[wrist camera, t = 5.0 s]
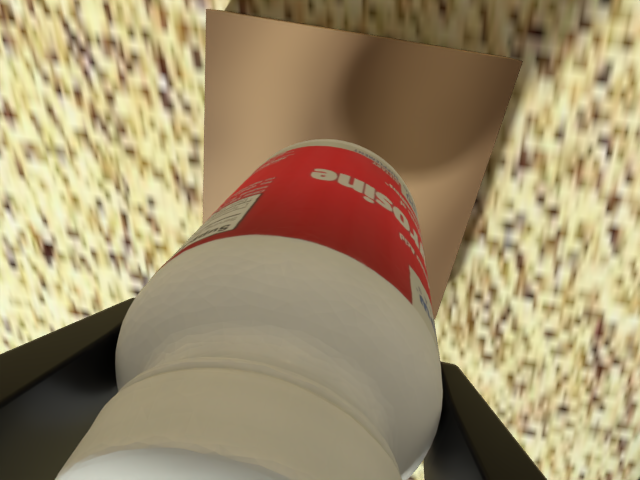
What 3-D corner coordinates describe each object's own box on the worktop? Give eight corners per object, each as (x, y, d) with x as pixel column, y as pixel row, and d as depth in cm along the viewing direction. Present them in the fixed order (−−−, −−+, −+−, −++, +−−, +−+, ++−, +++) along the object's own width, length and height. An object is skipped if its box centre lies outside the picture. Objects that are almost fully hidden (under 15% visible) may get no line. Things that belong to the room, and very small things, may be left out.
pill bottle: (451, 245, 15) (575, 672, 5) (313, 318, 17) (211, 711, 7) (348, 93, 13) (229, 292, 3) (210, 198, 15) (-108, 500, 6)
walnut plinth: (508, 57, 17) (522, 60, 16) (431, 296, 23) (434, 319, 21) (223, 10, 18) (206, 8, 16) (215, 254, 24) (202, 272, 22)
